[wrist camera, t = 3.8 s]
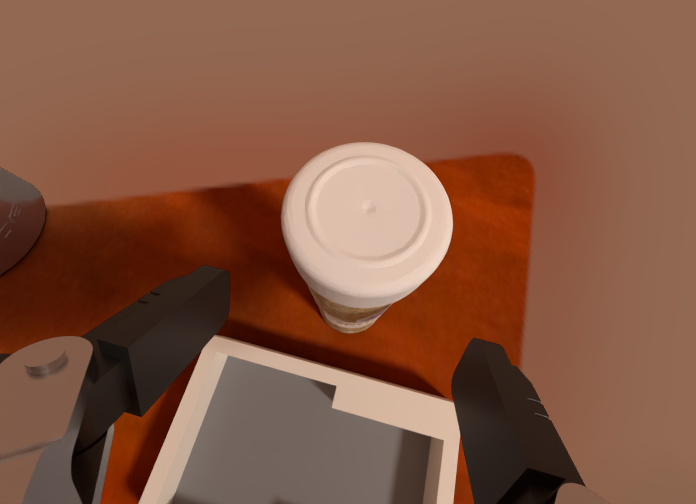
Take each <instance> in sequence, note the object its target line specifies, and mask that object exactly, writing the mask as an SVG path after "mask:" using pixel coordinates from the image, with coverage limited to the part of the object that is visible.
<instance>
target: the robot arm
mask: <svg viewBox="0 0 696 504" xmlns="http://www.w3.org/2000/svg"><path fill="white" fill-rule="evenodd" d="M45 213H46V208H45V203H44V199H43V197H42V195H41V193H40V192H39V191H38V190H37V189H36V188H35V187H34V186H33V185H32V184H30V183H28V182H27V181H25V180H23V179H21V178H19V177H17V176H16V175H14V174H12V173H10V172H8V171H6V170H4V169H3V168H0V275H1V274H2V273H4V272H5V271H7V270H8V269H10V268H11V267H12V266H14V265H15V264H16V263H17V262H18V261H19V260H20V259H21V258H23V257H24V256H25V254H26V253H27V252H28V251H29V250H30V248H31V247H32V246H33V245H34V243H35V242H36V240H37V238H38V236H39V235H40V233H41V230H42V227H43V224H44V222H45ZM229 308H230V274H229V272H228V271H225V270H222V269H218V268H214V267H210V266H207V265H203V266H201V267H199V268H198V269H196V270H195V271H194V272H192V273H191V274H189V275H188V276H184V275H183V276H181V277H178V278H175V279H172V280H169V281H166V282H164V283H163V284H161V285H160V286H158V287H157V288H155V289H154V290H152V291H151V292H150V294H148V293H147V294H146V295H144V296H143V297H141V298H140V299H138V301H137V302H134V303H132V304H131V305H129V306H128V307H126V308H125V309H123V310H122V311H120V312H118V313H117V314H115V315H114V316H112V317H111V318H109V319H108V320H106V321H105V322H103V323H102V324H100V325H99V326H97V327H96V328H94V329H93V330H91V331H89V332H88V333H86V334H85V335H83V336H82V337H75V336H63V337H56V338H50V339H47V340H43V341H40V342H37V343H34V344H31V345H29V346H27V347H25V348H23V349H21V350H19V351H17V352H15V353H14V354H0V504H100V500H101V495H102V489H103V484H104V479H105V474H106V469H107V464H108V459H109V454H110V449H111V443H112V438H113V433H114V422H115V421H116V420H117V419H118V418H119V417H120V416H121V415H122V414H123V413H124V412H127V413H130V414H133V415H136V416H139V417H142V416H143V415H144V414H145V413H146V412H147V411H148V410H149V409H150V407H151V406H152V405H153V404H154V403H155V402H156V401H157V400H158V398H159V397H160V396H161V395H162V394H163V393H164V392H165V391H166V389H167V388H168V387H169V386H170V385H171V384H172V383H173V382H174V380H175V379H176V378H177V377H178V376H179V375H180V374H181V373H182V371H183V370H184V369H185V368H186V367H187V366H188V365H189V364H190V362H191V361H192V360H193V359H194V358H195V357H196V356H197V355H198V353H199V352H200V351H201V350H202V349H203V348H204V347H205V346H206V344H207V343H208V342H209V341H210V340H211V339H212V338H213V337H214V335H215V334H216V333H217V332H218V331H219V330H220V329H221V328H222V326H223V325H224V323H225V322H226V319H227V317H228V314H229ZM451 389H452V396H453V401H454V406H455V411H456V416H457V421H458V425H459V430H460V435H461V440H462V445H463V450H464V455H465V460H466V465H467V469H468V474H469V479H470V484H471V489H472V494H473V499H474V504H610V503H609V502H608V501H607V500H605V499H604V498H603V497H601V496H600V495H599V494H597V493H596V492H594V491H592V490H591V489H589V488H587V487H586V486H585V484H584V482H583V480H582V479H581V477H580V475H579V473H578V471H577V469H576V467H575V465H574V463H573V461H572V460H571V458H570V456H569V454H568V452H567V450H566V448H565V446H564V444H563V442H562V441H561V438H560V437H559V435H558V433H557V431H556V429H555V427H554V425H553V423H552V421H551V420H549V419H548V417H549V416H548V414H547V412H546V410H545V408H544V406H543V405H542V404H541V403H540V402H541V400H540V399H539V397H538V395H537V393H536V391H535V389H534V387H533V385H532V383H531V382H530V381H529V380H528V379H527V378H526V377H525V375H524V374H523V373H522V372H521V371H520V370H519V369H518V368H517V367H516V366H512V365H511V363H510V361H509V359H508V357H507V355H506V352H505V350H504V348H503V347H502V346H501V345H500V344H496V343H492V342H489V341H485V340H481V339H477V338H473V339H472V340H471V341H470V342H469V344H468V346H467V348H466V350H465V352H464V354H463V356H462V358H461V360H460V362H459V363H458V365H457V367H456V369H455V371H454V374H453V377H452V385H451Z"/></svg>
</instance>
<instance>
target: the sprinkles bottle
mask: <svg viewBox="0 0 696 504" xmlns="http://www.w3.org/2000/svg"><path fill="white" fill-rule="evenodd" d="M281 227H282V232H283V237H284V240H285V243H286V246H287V249H288V251H289V254H290V256H291V258H292V261H293V263H294V265H295V267H296V268H297V270H298V272H299V274H300V275H301V277H302V278H303V279H304V281H305V282H306V283H307V284H308V287H309V289H310V291H311V293H312V295H313V297H314V299H315V301H316V303H317V305H318V306H319V310H320V313H321V315H322V317H323V319H324V320H325V322H326V323H327V324H329V325H330V326H331V327H332V328H334V329H336V330H338V331H340V332H343V333H356V332H360V331H364V330H366V329H367V328H368V327H370V326H371V325H372V324H373V323H374V322H375V321H376V320H377V318H378V317H379V316H380V315H381V314H382V313H384V312H385V311H386V310H387V309H388V308H389V307H390V306H391V305H392V304H393V303H394V302H396V301H398V300H400V299H402V298H403V297H405V296H407V295H408V294H410V293H411V292H412V291H413V290H415V289H416V288H417V287H418V286H419V285H421V284H422V283H423V282H424V281H425V280H426V279H427V278H428V277H429V276H430V275H431V274H432V273H433V272H434V271H435V269H436V268H437V267H438V266H439V264H440V262H441V261H442V259H443V258H444V256H445V254H446V252H447V249H448V247H449V244H450V240H451V235H452V228H453V220H452V211H451V206H450V202H449V199H448V196H447V194H446V192H445V189H444V188H443V186H442V184H441V183H440V181H439V180H438V178H437V177H436V176H435V174H434V173H433V172H432V171H431V170H430V169H429V168H428V167H427V166H426V165H425V164H424V163H422V162H421V161H420V160H418V159H417V158H415V157H414V156H412V155H410V154H408V153H407V152H405V151H403V150H400V149H398V148H395V147H391V146H388V145H385V144H379V143H370V142H361V143H349V144H343V145H340V146H337V147H334V148H331V149H329V150H326V151H324V152H322V153H320V154H318V155H317V156H315V157H314V158H312V159H311V160H310V161H308V162H307V163H306V164H305V165H304V166H303V167H302V168H301V169H300V170H299V171H298V172H297V174H296V175H295V176H294V178H293V179H292V181H291V182H290V184H289V186H288V188H287V191H286V193H285V196H284V199H283V203H282V211H281Z"/></svg>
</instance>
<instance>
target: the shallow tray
mask: <svg viewBox="0 0 696 504" xmlns="http://www.w3.org/2000/svg"><path fill="white" fill-rule="evenodd" d="M459 440H460V430H459V425H458V421H457V416H456V411H455V406H454V401H452V400H450V399H447V398H444V397H441V396H437V395H433V394H430V393H426V392H423V391H419V390H416V389H412V388H408V387H405V386H401V385H398V384H394V383H391V382H387V381H383V380H380V379H376V378H373V377H369V376H366V375H362V374H358V373H355V372H351V371H348V370H344V369H341V368H337V367H333V366H330V365H326V364H323V363H319V362H316V361H312V360H308V359H305V358H301V357H298V356H294V355H291V354H287V353H283V352H280V351H276V350H273V349H269V348H266V347H262V346H258V345H255V344H251V343H248V342H244V341H241V340H237V339H233V338H230V337H226V336H219V335H214V337H213V338H212V339H211V340H210V341H209V342H208V343H207V344H206V346H205V347H204V348H203V350H202V352H201V355H200V357H199V359H198V362H197V364H196V367H195V369H194V371H193V374H192V376H191V379H190V381H189V383H188V386H187V388H186V391H185V393H184V395H183V398H182V400H181V403H180V405H179V407H178V410H177V412H176V415H175V417H174V419H173V422H172V424H171V427H170V429H169V431H168V434H167V436H166V439H165V441H164V444H163V446H162V448H161V451H160V453H159V456H158V458H157V460H156V463H155V465H154V468H153V470H152V472H151V475H150V477H149V480H148V482H147V484H146V487H145V489H144V492H143V494H142V496H141V499H140V501H139V504H453V499H454V489H455V479H456V469H457V459H458V450H459Z"/></svg>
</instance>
